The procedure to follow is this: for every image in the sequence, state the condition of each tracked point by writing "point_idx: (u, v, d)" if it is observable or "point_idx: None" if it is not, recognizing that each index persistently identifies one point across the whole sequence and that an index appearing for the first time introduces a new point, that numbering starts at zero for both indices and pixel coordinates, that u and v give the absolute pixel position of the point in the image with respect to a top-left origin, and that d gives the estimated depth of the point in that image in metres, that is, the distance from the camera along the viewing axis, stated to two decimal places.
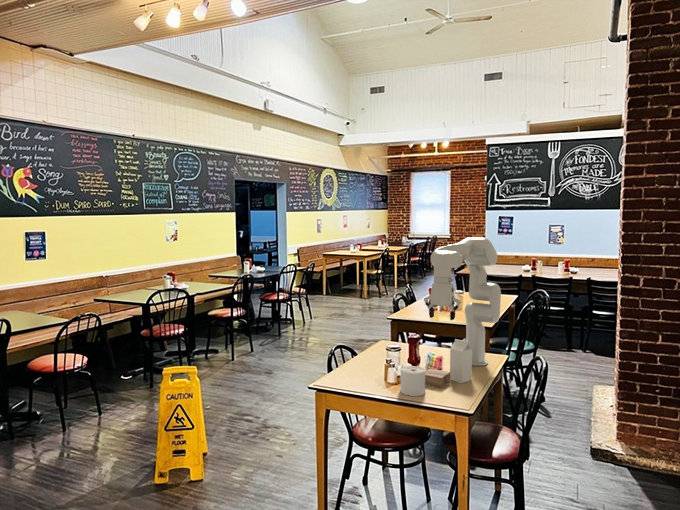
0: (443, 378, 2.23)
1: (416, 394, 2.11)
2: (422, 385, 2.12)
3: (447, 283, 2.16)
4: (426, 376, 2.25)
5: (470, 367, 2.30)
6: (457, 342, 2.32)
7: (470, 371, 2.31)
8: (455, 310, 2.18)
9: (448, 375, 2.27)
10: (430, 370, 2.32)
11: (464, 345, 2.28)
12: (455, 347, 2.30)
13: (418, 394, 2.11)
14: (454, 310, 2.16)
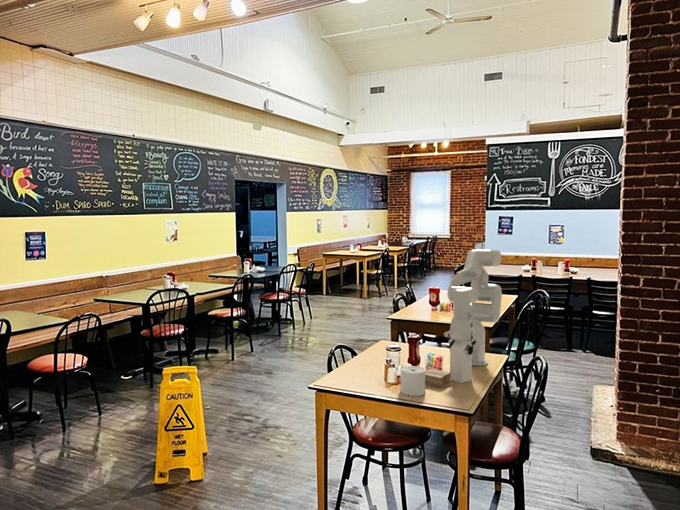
0: (442, 378, 2.22)
1: (416, 394, 2.11)
2: (422, 385, 2.12)
3: (466, 319, 2.26)
4: (426, 376, 2.25)
5: (470, 367, 2.30)
6: (457, 342, 2.32)
7: (470, 371, 2.31)
8: (473, 345, 2.28)
9: (448, 375, 2.27)
10: (431, 370, 2.32)
11: (464, 345, 2.28)
12: (455, 347, 2.30)
13: (418, 394, 2.11)
14: (472, 345, 2.27)
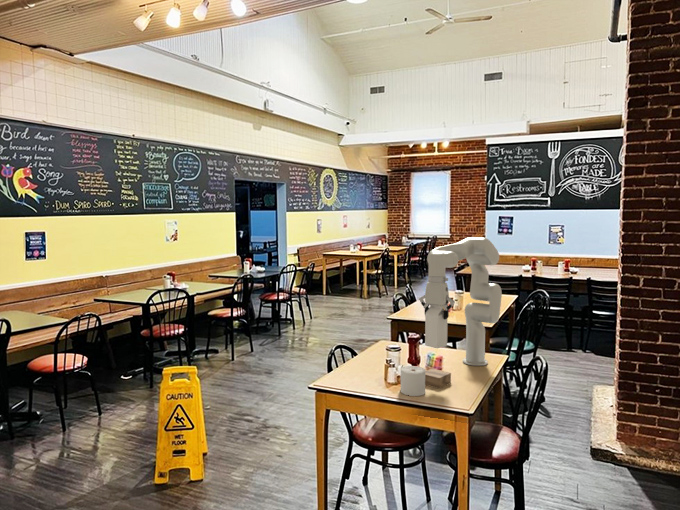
0: (442, 378, 2.22)
1: (416, 394, 2.11)
2: (422, 385, 2.12)
3: (441, 282, 2.21)
4: (425, 376, 2.25)
5: (445, 333, 2.25)
6: (432, 307, 2.26)
7: (446, 336, 2.25)
8: (448, 309, 2.23)
9: (448, 376, 2.26)
10: (431, 370, 2.32)
11: (439, 309, 2.23)
12: (430, 312, 2.25)
13: (418, 394, 2.11)
14: (447, 309, 2.21)
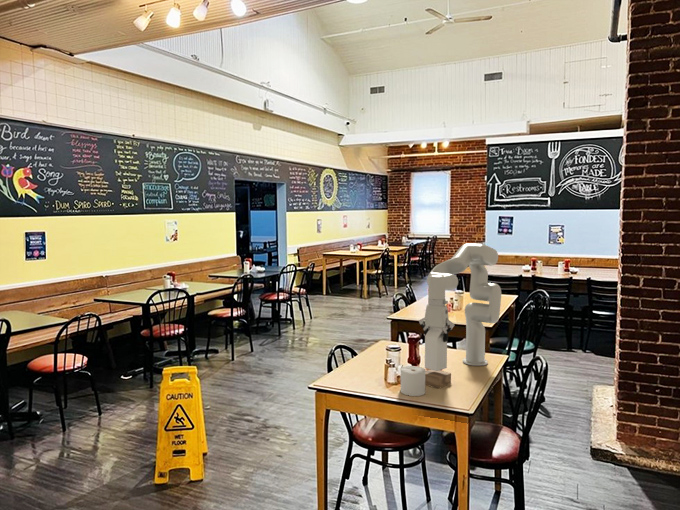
0: (441, 378, 2.22)
1: (416, 394, 2.11)
2: (422, 385, 2.12)
3: (441, 305, 2.22)
4: (425, 375, 2.26)
5: (445, 355, 2.26)
6: (432, 329, 2.27)
7: (445, 358, 2.26)
8: None
9: (448, 376, 2.26)
10: (432, 370, 2.32)
11: (439, 332, 2.23)
12: (430, 334, 2.25)
13: (418, 394, 2.11)
14: (447, 332, 2.22)
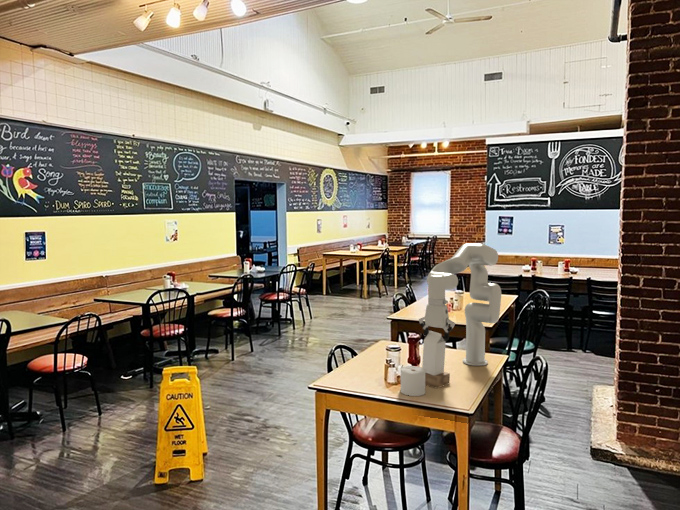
0: (439, 378, 2.22)
1: (416, 394, 2.11)
2: (422, 385, 2.12)
3: (441, 305, 2.22)
4: None
5: (443, 360, 2.27)
6: (431, 334, 2.27)
7: (443, 363, 2.27)
8: None
9: (447, 376, 2.26)
10: None
11: (438, 337, 2.24)
12: (429, 339, 2.26)
13: (418, 394, 2.11)
14: (448, 331, 2.22)
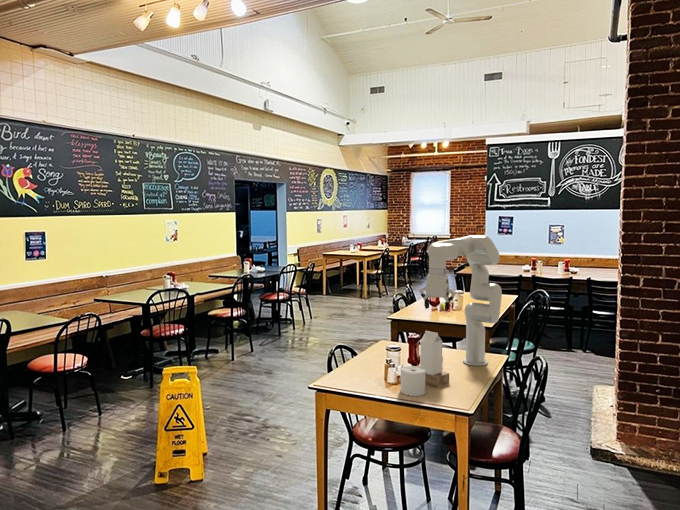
0: (439, 378, 2.22)
1: (416, 394, 2.11)
2: (422, 385, 2.12)
3: (442, 275, 2.21)
4: None
5: (440, 359, 2.27)
6: (427, 334, 2.28)
7: (441, 363, 2.27)
8: None
9: (446, 376, 2.26)
10: None
11: (434, 337, 2.25)
12: (425, 339, 2.27)
13: (418, 394, 2.11)
14: (449, 301, 2.21)
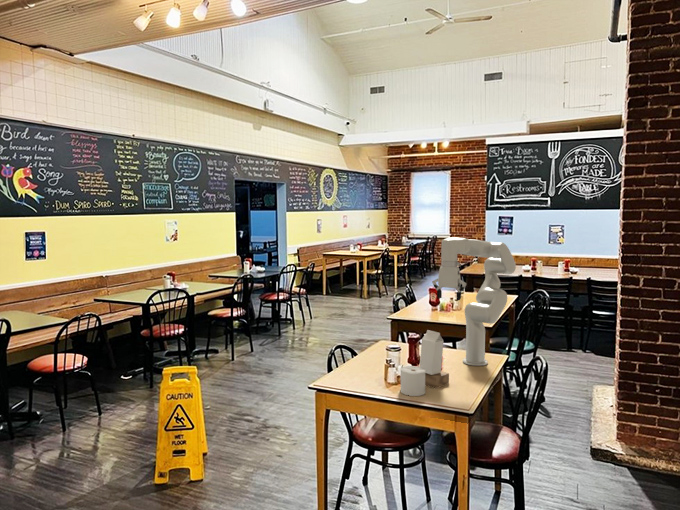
0: (439, 378, 2.22)
1: (416, 394, 2.11)
2: (422, 385, 2.12)
3: (454, 267, 2.37)
4: None
5: (440, 360, 2.27)
6: (429, 333, 2.28)
7: (440, 363, 2.27)
8: (461, 291, 2.39)
9: (446, 376, 2.26)
10: None
11: (436, 336, 2.25)
12: (427, 338, 2.26)
13: (418, 394, 2.11)
14: (460, 291, 2.38)
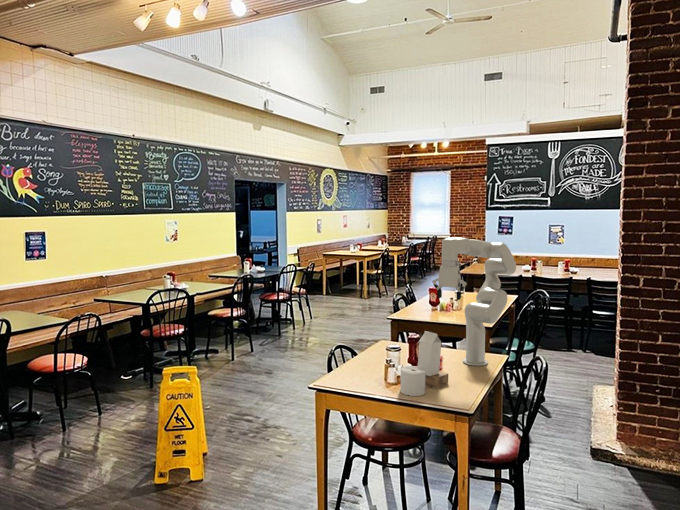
0: (438, 379, 2.22)
1: (416, 394, 2.11)
2: (422, 385, 2.12)
3: (454, 266, 2.38)
4: None
5: (438, 360, 2.26)
6: (426, 334, 2.27)
7: (438, 364, 2.26)
8: None
9: (445, 376, 2.26)
10: None
11: (434, 337, 2.23)
12: (424, 339, 2.25)
13: (418, 394, 2.11)
14: (460, 291, 2.38)
